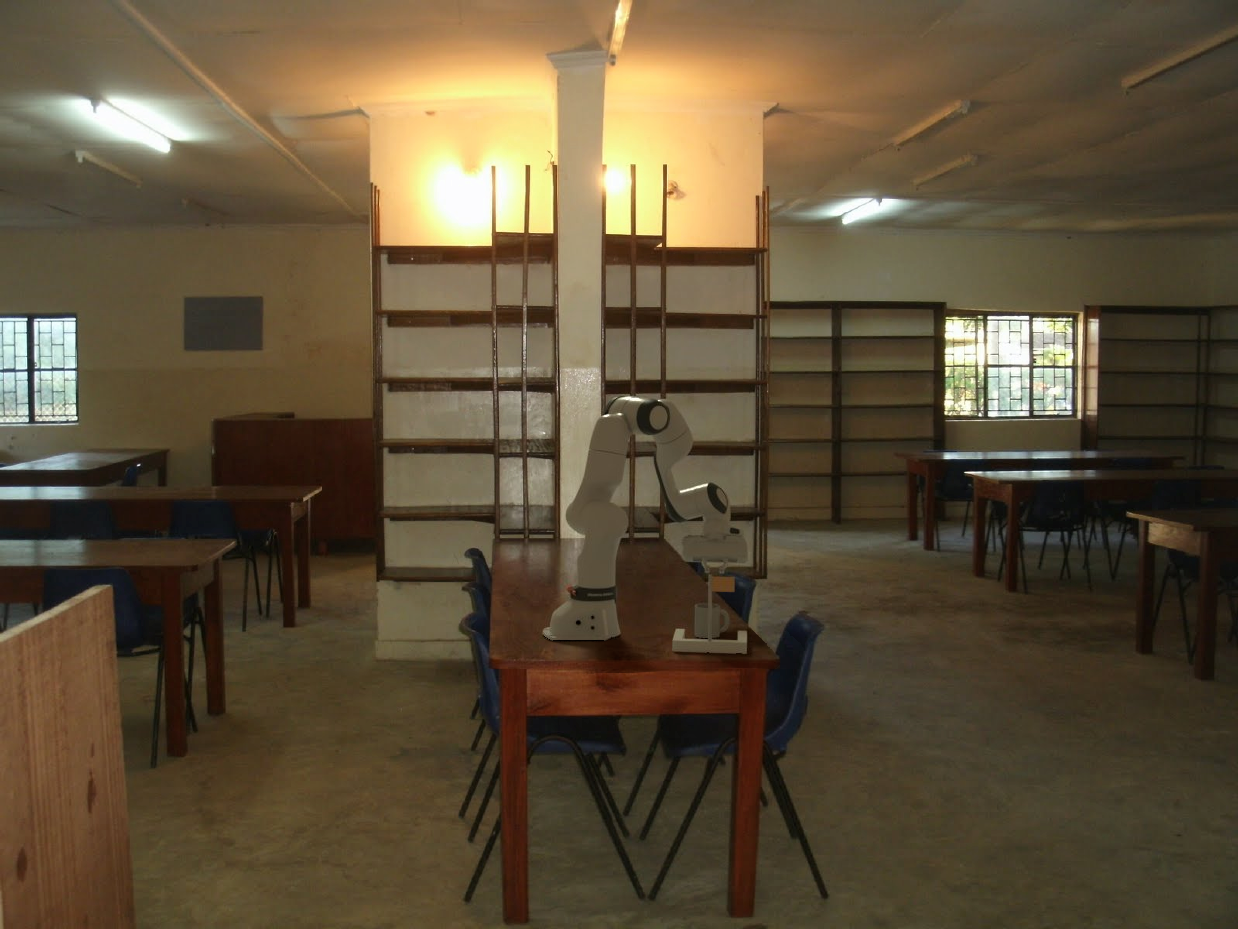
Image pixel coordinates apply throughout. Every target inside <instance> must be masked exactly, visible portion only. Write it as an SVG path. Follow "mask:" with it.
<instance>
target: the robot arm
mask: <svg viewBox="0 0 1238 929" xmlns="http://www.w3.org/2000/svg"><path fill="white" fill-rule="evenodd" d="M632 435H637V436H638V435H639V436H640V435H642V436H643V435H646V436H652V438H653V440H654V443H655V445H656V450H655V452H654V454H653V465H654V469H655V474H656V477H657V480H658V483H659V487H660V490H661V493H662V495H663V500H664V505H665V511H666V514H667V516H668V517H669V519H671V520H672V521H674V522H676V523H679V524H681V523H684V522H685V523H686V522H687V521H691V520H692V519H696V518H700V517H702V521H703V523H702V525H701V526H702V527H701V534H695V535H692V534H689V535H686V536H684V537H683V538H682V540H681V541H682V542H681V545H682V552H681V554H682V555H681V556H682V560H683V561H684V562H685V563H686V562H687V563H701V566H702V567H703V568H704V574H705V573H706V574H710V572H711V570H710V568H711V566H710V565H708V564H707V563H722V565H719V566H718V567H719V570H718V571H719V572H718V573H719V574H725V569H726V568H727V567H728V565H729V564H746V563H747V562H748V561H749V552H748V551H749V549H748V543H747V540H746V538H745V533H744V530H743V529H742V528H737V527H735V526H734V527H733V526H731V525H730V521H731V519H732V518H731V514H732V513H731V502H730V498H729V495H728V494H727V493H726V492H725V491H724V490H723V489H722V488H721V486H719V485H717V484H716V483H714V482H706V483H702V484H698V485H695V486H691V487H688V488H683V489H680V488H678V487H677V485H676V482H675V478H674V475H673V472H672V469H673V468H674V467H675V466H676V465H677V464H678V463H680V462H681V461H682V460H684V459H685V458H686V457H687V456H688V454H689V453H690V452H691V450H692V448H693V444H694V437H693V433H692V432H691V429H690V427H689V425H688V423H687V421H686V420H685V418H684V416H683V415H682V413H681V411H680V410H679V409H678V407H677V406H676V405H675V404H674V402H672V401H671V400H670V399H667V398H660V399H654V398H648V397H642V396H637V395H634V396H633V395H629V396H625V395H619V396H615V397H613V398H611V399H610V400H609V401H608V402H607V404H606V406H605V408H604V411H603V414H602V415H601V416H599V417H598V419H597V420H596V422H595V424H594V427H593V430H592V434H591V437H590V440H589V441H590V442H589V445H588V446H589V447H588V452H587V457H586V462H585V468H584V472H583V477H582V480H581V483H580V485H579V488H578V490H577V492H576V495H575V497H574V498H573V500H572V501H571V503H569V504H568V506H567V508H566V512H565V520H566V523H567V525H568V526H569V527H570V528H571V529H572V530H573V531H575V533H577V534H579V535H582V536H584V543H583V546H582V547H583V548H582V549H581V553H580V554H579V555H578V556H577V560H576V575H577V576H576V584H575V585H574V586H573V585H570V584H569V585H567V586H566V588H565V589H566V592H568V593H569V596H570V597H569V599H568V600H566V601H565V602H563V604H561V605H560V606H559V607H558V608H556V609H555V610H554V611H553V612H552V615H551V618H550V625H549V626H548V627H544V628H543V629H542V636H543V635H544V636H545V637H547V638H548V639H547V638H546V639H547V640H549V639H550V641H553V640H604V641H607V640H609V639H611V637H612V638H615V637H618V636H620V635H621V630H620V629H621V628H620V626H619V622H618V615H617V614H618V613H617V603H618V602H617V601H618V589H617V588H618V586H617V585H616V562H617V560H616V559H617V554H618V550H619V546H620V543H621V540H622V538H623V536H624V535H625V533H626V532H627V530H628V528H629V517H628V514H627V512H626V511H625V510H624V509H623V508H622V507H621V506H619V505H617V504H616V503H614V502H611V500H612V497H613V496H614V494H615V491H616V490H617V488H618V487H620V485H621V483H623V477H624V472H625V465H626V460H627V459H626V458H627V453H628V446H629V445H628V444H629V440H630V438H631V437H632ZM544 636H543V637H544ZM545 637H544V638H545Z"/></svg>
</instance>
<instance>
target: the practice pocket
mask: <svg viewBox="0 0 1238 929" xmlns="http://www.w3.org/2000/svg"><path fill="white" fill-rule="evenodd" d="M735 578H736V577H735V576H713V574H710V573H708V579H707V580H708V582H707V583H708V585H707V586H708V591H707V592H708V594H707V596H708V597H707V603H708V639H701V638H685V637H686V629H685V628H675V631H674V633H673V638H672V642H671V644H672V645H671V646H672V648H671V650H672V652H681V653H705V654H706V653H707V652H709V653H710V654H712V653H713V654H736V653H742V655H743V654H744V655H746V654H747V653H748V652H747V650H748V649H747V648H748V647H747V646H748V631H747V630H738V631H737V639H736V640H735V639H733V640H732V639H712V604H713V592H720V593H723V592H725V593H726V592H727V593H735ZM707 654H708V653H707Z"/></svg>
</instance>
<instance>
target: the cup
mask: <svg viewBox="0 0 1238 929" xmlns="http://www.w3.org/2000/svg"><path fill="white" fill-rule="evenodd" d="M721 615H722V617H723V623H722V624H723V625H722V626H721V625H720V624H721ZM730 622H731V621H730V615H729V612H727V610H725V609H723V608H721V605H720V604H717V603H712V638H715V637H718V638H719V637H720V634H721V633H724V632H726V631H727V630H728V628H729V627H730ZM694 637H696V638H697V637H699V638H698V639H701V638H708V602H707V603H706V602H705V603H704V602H703V603H702V602H701V603H697V604H695V605H694ZM715 639H716V638H715Z"/></svg>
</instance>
